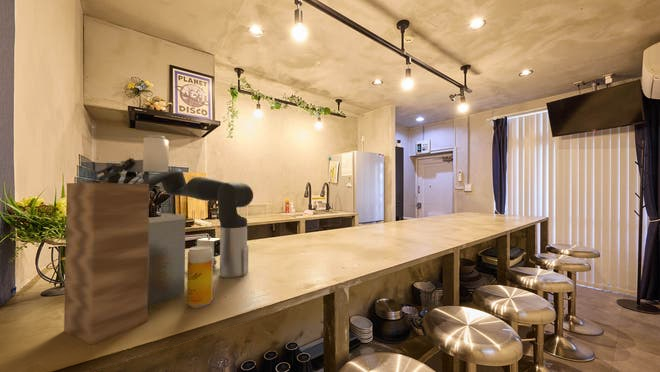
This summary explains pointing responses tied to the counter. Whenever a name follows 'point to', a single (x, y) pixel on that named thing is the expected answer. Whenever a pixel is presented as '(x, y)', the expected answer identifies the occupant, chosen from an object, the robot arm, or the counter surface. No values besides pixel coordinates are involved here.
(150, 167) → the white plastic container
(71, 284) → the tall wooden block
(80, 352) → the counter surface
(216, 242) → the pneumatic valve
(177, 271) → the tall grey upright block
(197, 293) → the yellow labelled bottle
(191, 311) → the counter surface
